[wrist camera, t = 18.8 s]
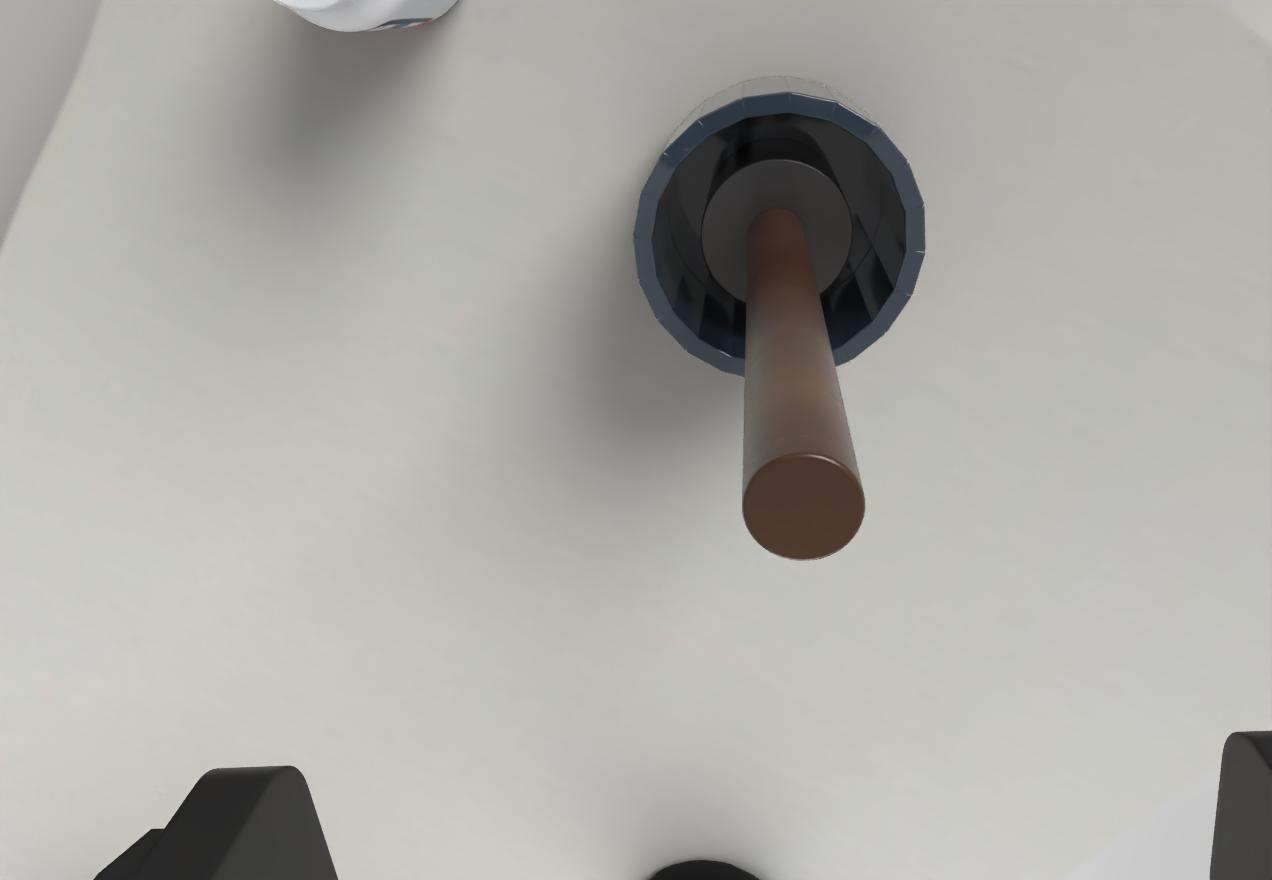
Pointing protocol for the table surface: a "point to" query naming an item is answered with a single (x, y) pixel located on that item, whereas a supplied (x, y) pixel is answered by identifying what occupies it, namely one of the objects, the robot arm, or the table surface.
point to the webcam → (703, 871)
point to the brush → (787, 343)
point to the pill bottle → (368, 13)
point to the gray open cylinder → (866, 178)
